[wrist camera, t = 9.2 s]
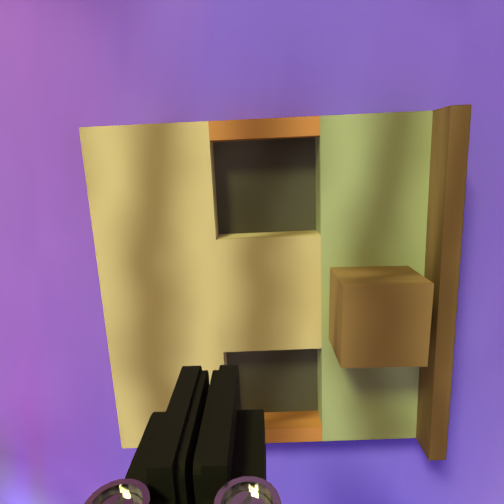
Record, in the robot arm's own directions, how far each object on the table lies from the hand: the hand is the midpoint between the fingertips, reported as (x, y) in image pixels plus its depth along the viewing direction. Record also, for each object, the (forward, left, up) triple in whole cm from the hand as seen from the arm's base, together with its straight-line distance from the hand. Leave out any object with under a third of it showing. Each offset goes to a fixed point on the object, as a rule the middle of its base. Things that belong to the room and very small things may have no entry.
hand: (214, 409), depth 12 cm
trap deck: (-2, +1, -14) cm, 14 cm away
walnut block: (-8, +1, -12) cm, 14 cm away
